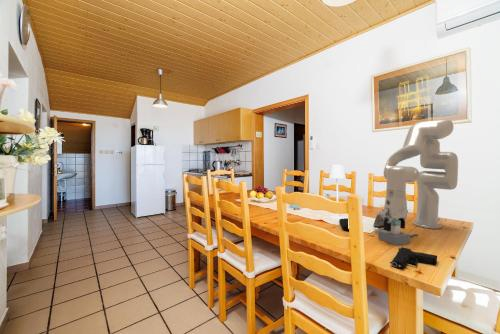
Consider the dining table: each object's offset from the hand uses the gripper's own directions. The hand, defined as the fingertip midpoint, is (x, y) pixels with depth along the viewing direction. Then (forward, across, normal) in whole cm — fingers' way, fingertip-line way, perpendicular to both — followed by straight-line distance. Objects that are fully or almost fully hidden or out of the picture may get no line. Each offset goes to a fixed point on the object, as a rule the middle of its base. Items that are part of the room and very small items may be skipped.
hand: (394, 229), depth 103 cm
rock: (+6, +16, +18) cm, 25 cm away
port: (+6, 0, 0) cm, 6 cm away
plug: (+6, 0, 0) cm, 6 cm away
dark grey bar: (+6, +12, 0) cm, 13 cm away
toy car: (+6, -5, +23) cm, 24 cm away
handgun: (+6, -14, -18) cm, 23 cm away
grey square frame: (+6, +4, +7) cm, 10 cm away
